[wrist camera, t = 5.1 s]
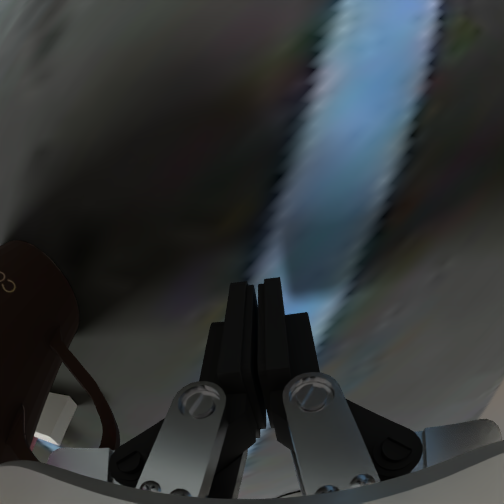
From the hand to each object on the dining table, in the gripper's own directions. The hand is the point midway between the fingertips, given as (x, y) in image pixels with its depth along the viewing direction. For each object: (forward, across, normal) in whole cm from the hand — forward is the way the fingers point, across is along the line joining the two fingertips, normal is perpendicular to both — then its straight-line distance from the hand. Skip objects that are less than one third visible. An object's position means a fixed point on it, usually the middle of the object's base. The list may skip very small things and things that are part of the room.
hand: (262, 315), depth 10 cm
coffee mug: (+2, +11, 0) cm, 11 cm away
